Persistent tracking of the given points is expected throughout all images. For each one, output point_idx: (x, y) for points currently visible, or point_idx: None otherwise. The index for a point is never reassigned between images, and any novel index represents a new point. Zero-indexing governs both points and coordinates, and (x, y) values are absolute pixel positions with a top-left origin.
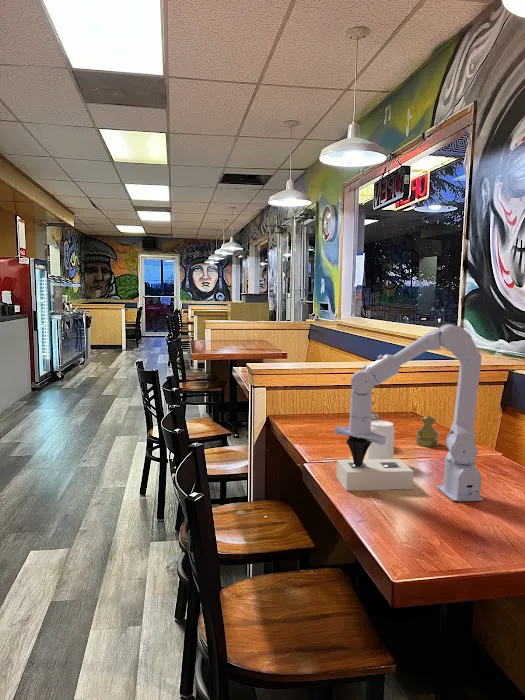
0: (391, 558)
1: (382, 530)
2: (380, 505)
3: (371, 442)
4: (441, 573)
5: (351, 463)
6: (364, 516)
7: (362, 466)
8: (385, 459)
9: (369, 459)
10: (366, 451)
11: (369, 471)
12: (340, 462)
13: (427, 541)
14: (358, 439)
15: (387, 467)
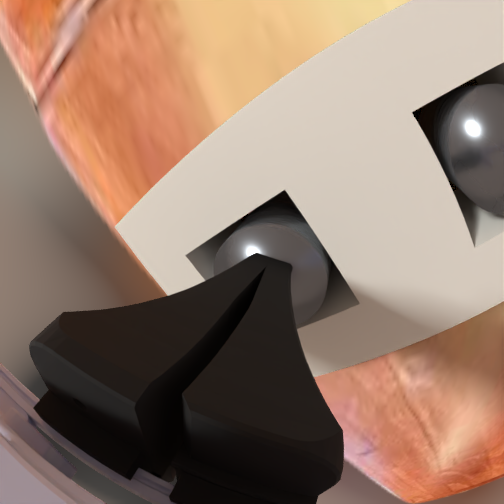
0: (415, 492)
1: (412, 462)
2: (421, 387)
3: (339, 443)
4: (470, 488)
5: (215, 274)
6: (374, 440)
7: (307, 306)
8: (430, 4)
9: (300, 74)
10: (298, 335)
11: (369, 354)
12: (152, 268)
13: (485, 456)
14: (156, 465)
15: (488, 209)
